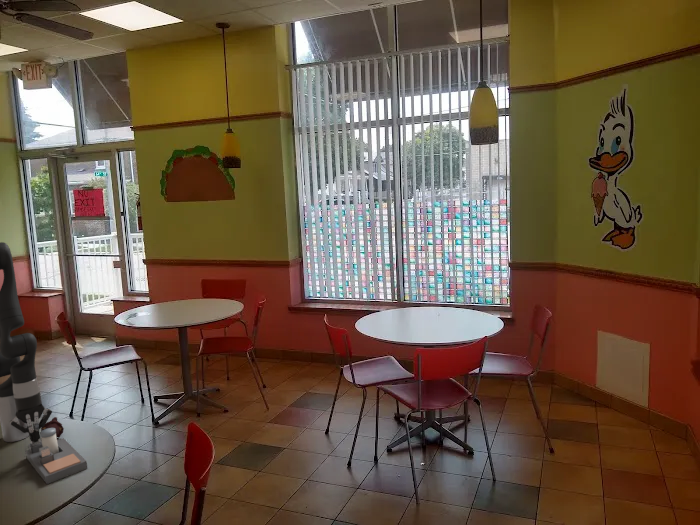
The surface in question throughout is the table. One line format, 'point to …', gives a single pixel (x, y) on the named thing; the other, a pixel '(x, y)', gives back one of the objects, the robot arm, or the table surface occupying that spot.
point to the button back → (35, 443)
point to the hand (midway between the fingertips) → (35, 441)
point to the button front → (44, 452)
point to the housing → (56, 461)
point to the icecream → (54, 426)
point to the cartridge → (50, 439)
